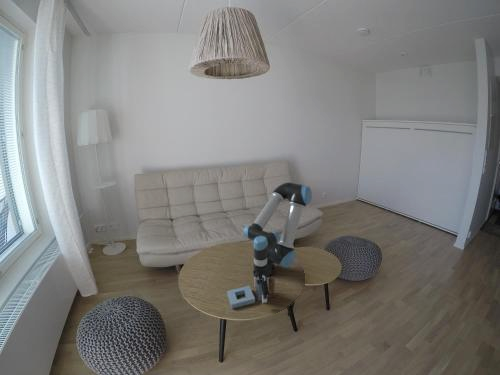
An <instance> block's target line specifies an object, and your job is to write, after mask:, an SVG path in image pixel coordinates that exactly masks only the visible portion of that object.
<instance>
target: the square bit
mask: <svg viewBox="0 0 500 375" xmlns="http://www.w3.org/2000/svg"><path fill="white" fill-rule="evenodd" d="M261 280H262V279H261ZM262 293H263V291H262V287H261V282H260V281H259V280H256V286H255V299H256V300H257V302H258V303H260V302H262Z"/></svg>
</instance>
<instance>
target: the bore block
mask: <svg viewBox="0 0 500 375" xmlns="http://www.w3.org/2000/svg"><path fill="white" fill-rule="evenodd" d="M226 292H227V298H228V301H229V305H230V308H231V310H233V309H236V308H240V307H243V306H248V305H251V304H255V303H256V296H255V295H254V292H253V291H252V289H251V286H250V285H247V286H243V287H238V288H233V289H230V290H227V291H226ZM242 295H244V296H245V297H242V298H239V299H238V298H237V297H239V296H242Z"/></svg>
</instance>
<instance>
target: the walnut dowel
mask: <svg viewBox="0 0 500 375" xmlns="http://www.w3.org/2000/svg"><path fill="white" fill-rule="evenodd" d="M275 282H276V281H275V278H274V277H273V276H272V277H270V276H269V277H268V282H267V285H268V291H269V295H267V298H270V299H273V298H275V289H276V288H275V284H276V283H275Z"/></svg>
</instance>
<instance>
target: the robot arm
mask: <svg viewBox="0 0 500 375" xmlns="http://www.w3.org/2000/svg"><path fill="white" fill-rule="evenodd" d="M312 198H313V193H312V188H311V187H310V186H308V185H304V184H299V183H293V182H284V183H282V184H280V185H278V186H277V187H276V188H275V189H274V190H272V192H271V194H270V198H269V200H268V201H267V202H266V204H265V205H264V206H263V208H262V210H261V211H260V212H259V214H258V215H257V217H256V219H255V220H254V221H253V222H252V224H251V225H246V226H245V227H244V228H243V231H242V235H243V237H245V238H246V239H248V240H251V241H252V242H253V244H252V246H253V259H252V260H253V270H252V274H253V279H254V280H253V281H254V283H253V285H254V287H256V280H259V281H260V282H261V287H262V291H263V293H262V301H261V302H262V304H263V303H267V302H268V295H269V291H268V277H270V276H273V274H275V272H276V265H278V266H280V267H283V268H289V267H291V266H292V264H294V261H295V259H296V256H297V255H296V254H297V253H296V251H295V247H294V241H295V237H296V233H297V230H298V227H299V224H300V220H301V216H302V213H303V210H304V209H305V208H306V207H307V206H308V205H310V203H311V202H312ZM285 200H288V204H289V208H288V211H287V215H286V218H285V220H284V221H285V222H284V225H283V228H282V232H281V236H280V234H279V233H278V231H275V230H272V231H269V232H268V231H266V230H265V231H264V229H265V228H266V226H267V224H268V223H269V222H270V220H271V218H272V217H273V215H274V214H275V212H276V211H277V209H278V208H279V206H280V205H281V204H282V203H284V201H285ZM261 279H262V280H261Z"/></svg>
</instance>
